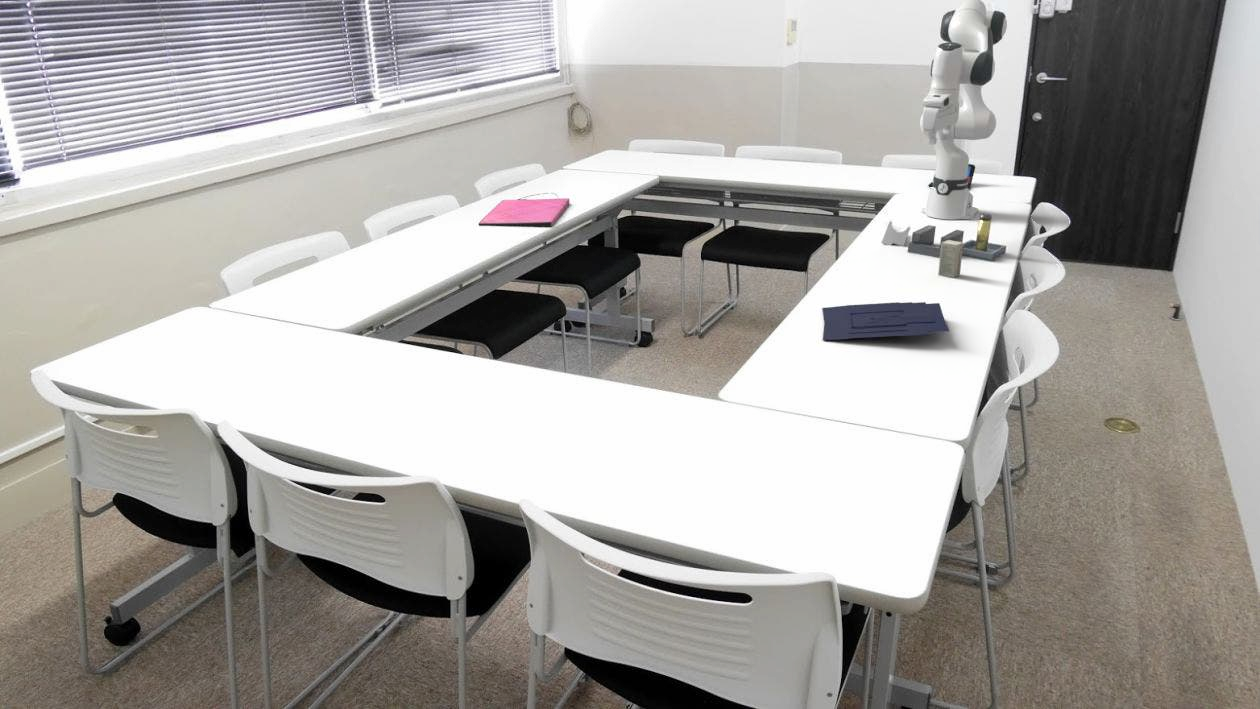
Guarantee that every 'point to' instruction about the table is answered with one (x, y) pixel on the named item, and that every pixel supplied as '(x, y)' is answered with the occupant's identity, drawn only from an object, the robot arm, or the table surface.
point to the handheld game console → (969, 174)
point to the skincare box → (950, 258)
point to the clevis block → (930, 241)
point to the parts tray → (990, 255)
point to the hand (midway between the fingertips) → (938, 141)
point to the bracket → (894, 234)
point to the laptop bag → (526, 212)
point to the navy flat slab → (882, 320)
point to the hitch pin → (983, 232)
